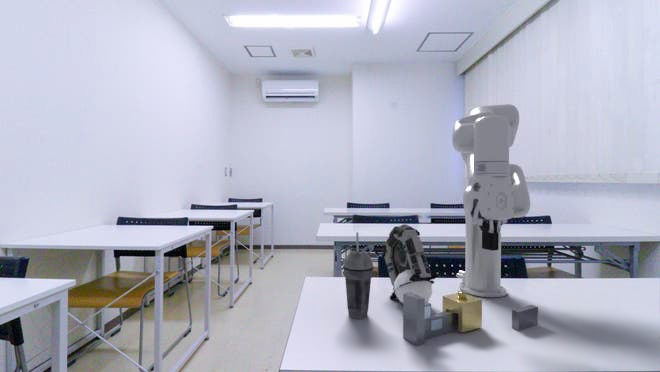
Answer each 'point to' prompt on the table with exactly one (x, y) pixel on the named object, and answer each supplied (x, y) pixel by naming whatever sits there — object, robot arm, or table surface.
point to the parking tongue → (524, 317)
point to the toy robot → (407, 263)
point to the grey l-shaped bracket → (425, 320)
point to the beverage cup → (358, 282)
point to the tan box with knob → (464, 310)
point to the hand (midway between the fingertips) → (490, 249)
